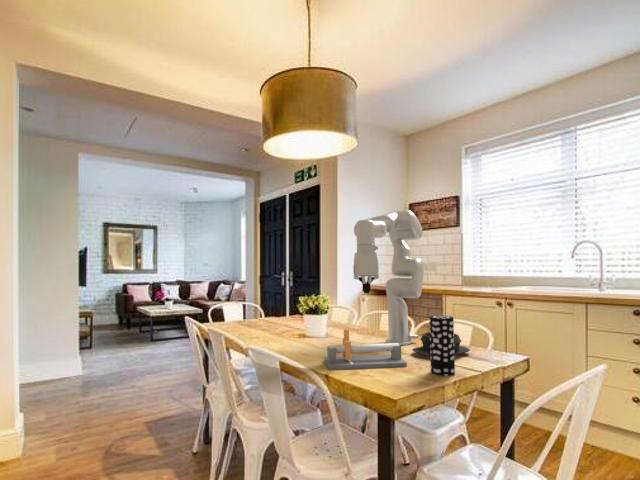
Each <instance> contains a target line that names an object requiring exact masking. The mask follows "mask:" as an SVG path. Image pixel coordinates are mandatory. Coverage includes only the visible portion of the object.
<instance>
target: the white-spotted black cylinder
mask: <svg viewBox="0 0 640 480" xmlns="http://www.w3.org/2000/svg"><path fill="white" fill-rule="evenodd" d="M428 317H429V332H430V355H429V357H430V373H431V374H432V375H435V376H440V377H451V376H452V377H453V376H455V375H456V365H455V361H456V359H455V356H456V355H455V356H454V334H455V328H454V327H455V326H454V316H452V315H451V316H450V315H441V314H440V315H439V314H438V315H437V314H436V315H429V316H428Z"/></svg>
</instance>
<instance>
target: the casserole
mask: <svg viewBox="0 0 640 480" xmlns="http://www.w3.org/2000/svg"><path fill="white" fill-rule="evenodd" d="M420 341H421V343H422V346H418V347H414V348H412V351H413V352H414V353H416V354H418V355H424V356H430V331H428V332H424V333H423V334H422V335H421V338H420ZM461 343H462V340H461V339H460V335H459V334H456V333H454V356H458V355H461V354H463V353H468V352H470V351H471V349H470V348H469V347H466V346H462V345H460V344H461Z"/></svg>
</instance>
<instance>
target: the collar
mask: <svg viewBox="0 0 640 480" xmlns="http://www.w3.org/2000/svg"><path fill="white" fill-rule="evenodd" d="M342 345H345V353H342V356H343V357H344V358H345V360H351V356H352V353H351V345H352V343H351V339H350V329H349V328H344V329H343V337H342Z"/></svg>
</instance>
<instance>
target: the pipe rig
mask: <svg viewBox="0 0 640 480" xmlns="http://www.w3.org/2000/svg"><path fill="white" fill-rule="evenodd" d="M376 352H390V354H388V353H384V354H383V353H382V354H364V355H361V354H360V355H359V354H358V355H351V360H345V358H344V357H343V355H337V354H343V353H345V345H343V344H331V345H329V344H328V346H327V347H326V356H324V362H325V364H326V366H327V369H328V371H333V370H335V371H337V369H339V370H357V369H358V370H359V369H363V370H364V369H382V368H406V367H407V365H408V364H407V361H405V360H404V359H403V358H402V345H399V343H386V342H385V343H362V344H360V343H358V344H351V354H352V353H376Z"/></svg>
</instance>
